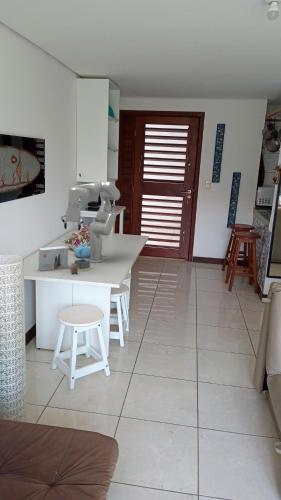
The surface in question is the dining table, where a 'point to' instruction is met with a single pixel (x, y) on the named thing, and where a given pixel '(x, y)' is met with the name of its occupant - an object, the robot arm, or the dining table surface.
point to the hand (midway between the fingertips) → (72, 229)
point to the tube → (83, 264)
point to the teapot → (82, 251)
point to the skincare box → (53, 258)
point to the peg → (74, 268)
